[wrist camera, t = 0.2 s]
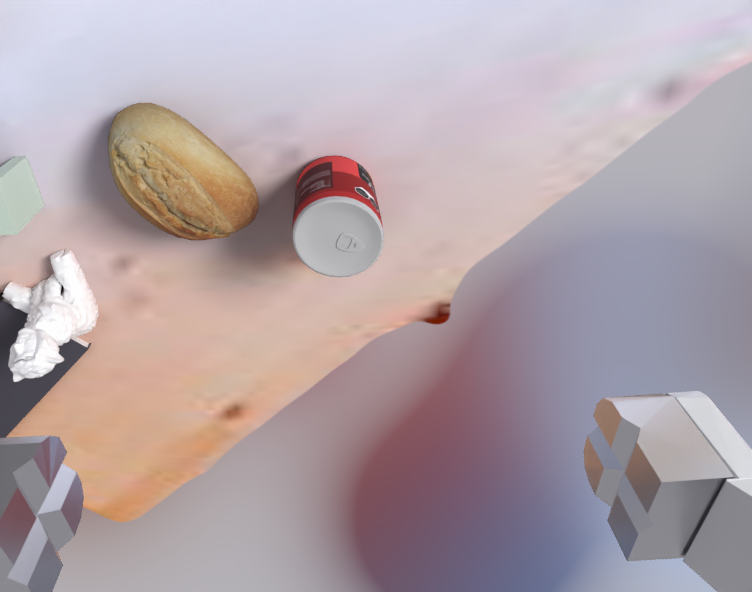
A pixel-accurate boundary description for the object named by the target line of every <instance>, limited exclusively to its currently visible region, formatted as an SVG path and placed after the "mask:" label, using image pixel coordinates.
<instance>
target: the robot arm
mask: <svg viewBox="0 0 752 592" xmlns="http://www.w3.org/2000/svg"><path fill="white" fill-rule="evenodd" d="M594 418H595V420H596V422H597V423H598V425H599V426H598V427H597V428H596V429H595V430H594V431H592V432H591V433H590V434H589V435H588V436H587V439H586V443H585V448H584V462H585V470H586V473H587V477H588V480H589V482H590V485H591V487H592V489H593V491H594V493H595V495H596V496H597V497H598V498H600V499H601V500H602V501H604V502H605V503H606V504H608V505H609V506H610V507H611V509H610V513H609V517H608V523H609V525H610V527H611V529H612V531H613V533H614V535H615V537H616V539H617V541H618V543H619V545H620V548H621V550H622V551H623V553H624V556H625V558H626V560H627V561H638V560H652V559H653V560H654V559H672V558H684V559H683V561H684V562H685V563H686V564H687V565H688V566H689V567H690V568H691V569H692V570H694V571H695V572H696V573H697V574H698V575H699V576H700V577H701V578H703V579H704V580H705V581H706V582H707V583H708V584H709V585H710V586H712V587H713V588H714V589H715V590H716V591H717V592H752V450H751V449H750V447H749V446H748V445H747V444H746V442H745V441H744V440H743V439H742V438H741V436H740V435H739V434H738V433H737V432H736V430H735V429H734V428H733V427H732V425H731V424H730V423H729V422H728V420H727V419H726V418H725V417H724V416H723V414H722V413H721V412H720V411H719V410H718V408H717V407H716V406H715V405H714V403H713V402H712V401H711V400H710V399H709V397H708V396H706V395H705V394H703V393H701V392H700V391H690V392H677V393H666V394H650V395H636V396H623V397H611V398H603V399H602V400H601V401H600V402H599V403H598V404H597V406H596V409H595V412H594ZM66 454H67V451H66V449H65V447H64V445H63V443H62V442H61V440H60V438H59V437H56V436H32V437H9V438H0V592H52V591H53V589H54V586H55V584H56V581H57V579H58V576H59V574H60V571H61V569H62V566H63V564H62V562H61V559H60V556H59V554H58V551H59V550H60V549H61V548H62V547H63V546H64V545H65V544H66V543H67V542H68V541H70V540H71V538H73V537H74V536H75V533H76V530H77V528H78V525H79V522H80V519H81V515H82V508H83V500H84V496H83V489H82V483H81V481H80V478H79V476H78V474H77V472H76V471H74V470H72V469H71V468H69V467H67V466H66V465H64V464H62V462H63V460H64V458H65V456H66Z"/></svg>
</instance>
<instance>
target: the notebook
mask: <svg viewBox="0 0 752 592" xmlns="http://www.w3.org/2000/svg"><path fill="white" fill-rule="evenodd" d="M2 295H3V293H2V292H1V294H0V438H5V437H6V436H7V435H8V434H9V433H10V432H11V431H12V430H13V429H14V428H15V426H16V425H17V424H18V423H19V422H20V421H21V420H22V419H23V418H24V417H25V416H26V415H27V414H28V413H29V412H30V411H31V409H32V408H33V407H34V406H35V405H36V404H37V403H38V402H39V401H40V400H41V399H42V398H43V397H44V396H45V395H46V394H47V392H48V391H49V390H50V389H51V388H52V387H53V386H54V385H55V384H56V383H57V382H58V381H59V380H60V379H61V378H62V376H63V375H64V374H65V373H66V372H67V371H68V370H69V369H70V368H71V367H72V366H73V365H74V364H75V363H76V362H77V361H78V359H79V358H80V357H81V356H82V355H83V354H84V353H85V352H86V351H87V350H88V349H89V347H90V345H91V343H90V344H88V343H87V342H85V341H83V340H81V339H80V338H78V337H75V338H73V339H70V341H69V342H67V343H63V345H61V346H59V345H58V347H59V354H60V355H61V356H62V357H63V358H64V361H63V362H61V363H57V364H56V365H55V366H54V368H53V370H52V371H50V372H48V373H47V374H45V375H43V376H42V377H38V378H37V377H35V378H24V379H22V380H20V381H18V382H14V381H13V373H12V371H11V370H10V368H9V367H8V363H9V358H10V348H11V346H12V345H13V344H14V343H15V342H16V340H17V337H18V331H20V330H21V329H23V328H25V323H26V322H27V316H28V314H29V313H25V312H24V311H22V310H20V309H16V308H14V307H13V305H12V304H11V303H10V301H8V300H6V299H5V298H4V297H2Z"/></svg>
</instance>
